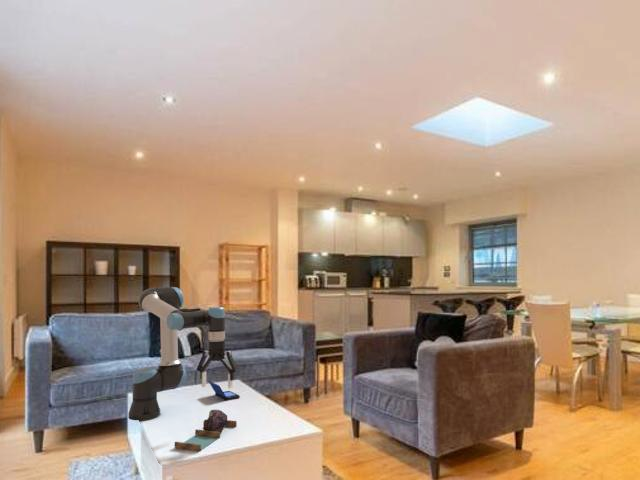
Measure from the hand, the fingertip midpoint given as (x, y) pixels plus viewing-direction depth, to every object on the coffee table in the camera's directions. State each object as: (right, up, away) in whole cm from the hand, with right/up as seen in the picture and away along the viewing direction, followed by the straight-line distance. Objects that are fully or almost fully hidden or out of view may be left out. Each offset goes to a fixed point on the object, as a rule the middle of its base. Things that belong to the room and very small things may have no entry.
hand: (217, 387), depth 208 cm
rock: (0, -20, -2) cm, 20 cm away
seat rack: (-2, -19, -9) cm, 21 cm away
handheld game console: (-8, -24, +54) cm, 59 cm away
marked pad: (-4, -18, -16) cm, 25 cm away
